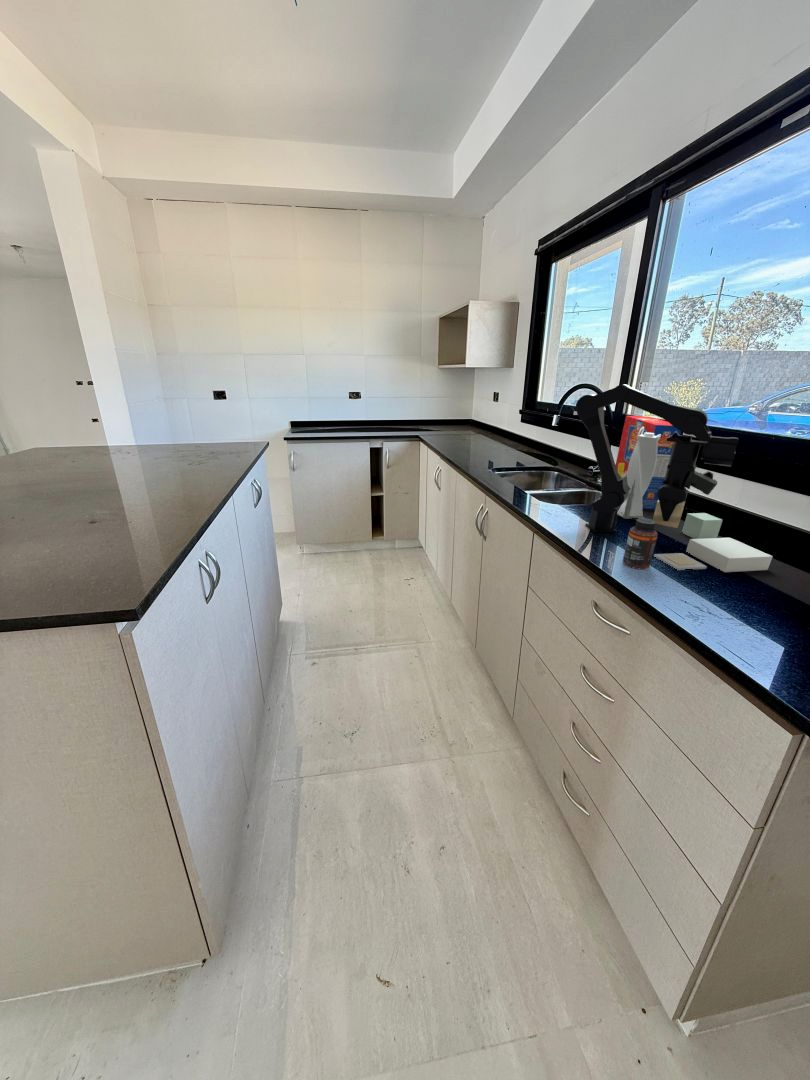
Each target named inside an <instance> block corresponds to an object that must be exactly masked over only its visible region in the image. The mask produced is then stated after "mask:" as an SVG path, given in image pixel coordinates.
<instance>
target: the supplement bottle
mask: <svg viewBox="0 0 810 1080" xmlns="http://www.w3.org/2000/svg"><path fill="white" fill-rule="evenodd" d="M656 525H657V524H656V522H655V521H653V519H649V518H646V517H645V518H639V519H636V522H635V525H634V526H632V527H630V529H629V531H628V537H627V541H626V545H625V548H624V549H625V550H624V553H623V558H622V563H623V564H624V563H625V564H624V565H625V566H627V565H628V566H627V567H629V566H630V568H632V567H634V568H633V569H637V568H640V569H639V570H645V568H646V569H648V568H650V566H651V563H652V559H653V557H654V551H655V548H656V543H657V540H658V531H657V530H655V528H656Z"/></svg>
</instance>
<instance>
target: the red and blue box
mask: <svg viewBox="0 0 810 1080" xmlns="http://www.w3.org/2000/svg"><path fill="white" fill-rule="evenodd" d="M643 426H644V431H643V435H644V433H654V436H657V435H659V434H661V437H660V439H659V440H658V449H657V461H656V466H655V470H654V473H653V476H652V479H651V481H650V484H649V486H648V488H647V490H646V492H645V493H644V495H643V497H642V508H643V510H652V509H653V510H654V511H655V509H656V505H657V501H658V500H659V499H658V497H657V493H658V489H659V488H660V487H661V486H663V485H664V484H663V481H664V479H665V476H666V472H667V469H668V468H667V466H668V464H669V461H670V457H671V453H672V450H673V446H674V442H670V441H667V440H666V439H667V438H668V437H670V436H672V435H673V434H674V433H675V432H676V431H677V432H678V434H679V435H681V434H682V432H681V431H680V430H678V429H677V428H675V427H674V426H672V425H671V424H670V423H669V422H667V421H666V420H662V419H659V418H655V417H651V416H639V415H626V416H625V419H624V424H623V428H622V433H621V437H620V438H621V439H620V444H619V447H618V451H617V456H616V460H615V461H616V462H615V465H616V469H617V472H618V474H619V475H620V476H621V478H623V477H625V476H627V471H628V466H629V462H630V459H631V456H632V453H633V451H634V448H635V446H636V444H637V441H638V439H637V435H638V433H639V430H640V429H641V428H642V427H643ZM642 429H643V428H642ZM641 432H642V430H641ZM641 432H640V435H641ZM653 510H652V511H653Z"/></svg>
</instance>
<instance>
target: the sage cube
mask: <svg viewBox="0 0 810 1080" xmlns="http://www.w3.org/2000/svg"><path fill="white" fill-rule="evenodd" d="M722 523H723V519H722V518H719V517H716V516H714V515H711V514H709V513H706V512H698V513H697V512H696V513H695V512H693V513H688V512H687V513H686V517H685V520H684V523H683V527H682V530H681V533H682V532H683V533H682V534H684V535H686V536H688V537H690V538H691V539H706V538H718V535H719V533H720V529H721V526H722Z"/></svg>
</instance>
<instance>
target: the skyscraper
mask: <svg viewBox="0 0 810 1080" xmlns="http://www.w3.org/2000/svg"><path fill="white" fill-rule="evenodd" d="M642 428H643V429H642ZM642 428H641V429H640V430H639V433H638V435H637V439H638V441H637V444H636V446H635V448H634V451H633V453H632V456H631V459H630V462H629V466H628V471H627V483H628V486H629V487H630V490H629V495H628V497H627V499H626V500H625V501H624V503H623V504H622V505H620V506H619V509H618V511H617V515H618V516H619V517H622V518H623V519H624V520H626V519H627V520H629V519H631V520H633V519H632V518H646V517H644V515H643V510H644V509H643V508H642V497H643V495H644V493H645V492H646V490H647V488H648V486H649V484H650V481H651V479H652V476H653V473H654V470H655V466H656V461H657V449H658V440H659V439H660V437H661V434H659V435H657V436H654V433H644V435H643V431H644V426H643V427H642ZM641 430H642V432H641ZM640 432H641V435H640Z"/></svg>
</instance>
